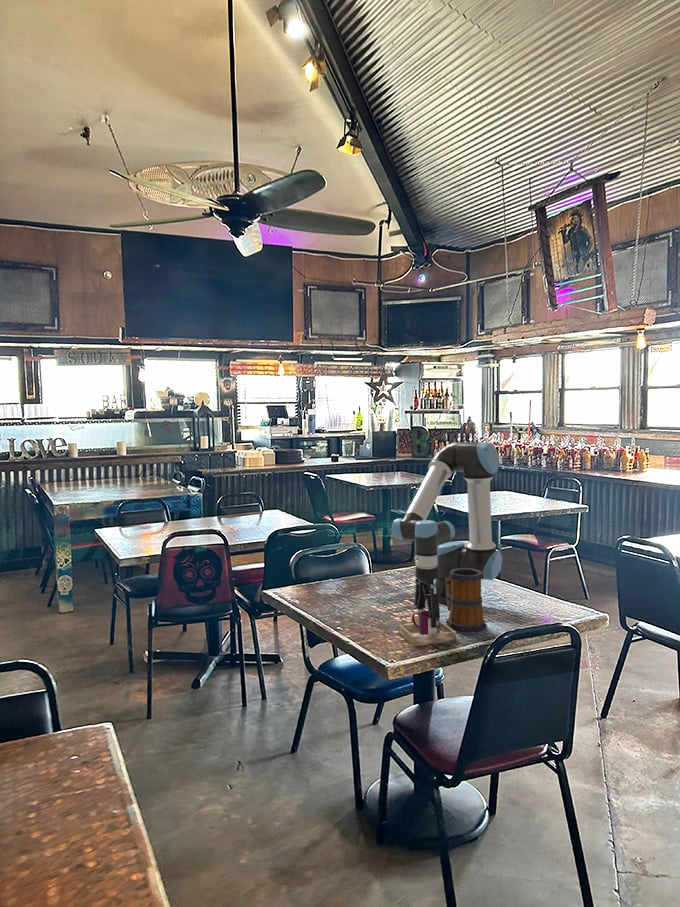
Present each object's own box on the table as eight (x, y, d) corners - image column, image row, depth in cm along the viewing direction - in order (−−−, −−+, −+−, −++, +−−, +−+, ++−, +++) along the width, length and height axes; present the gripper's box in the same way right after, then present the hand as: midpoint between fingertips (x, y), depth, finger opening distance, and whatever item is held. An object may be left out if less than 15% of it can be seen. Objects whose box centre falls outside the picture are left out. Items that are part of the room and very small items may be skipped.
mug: (430, 620, 234) (430, 566, 233) (463, 614, 240) (463, 562, 238) (460, 636, 216) (460, 579, 215) (495, 630, 222) (495, 574, 221)
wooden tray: (439, 628, 225) (439, 620, 224) (456, 640, 213) (456, 631, 212) (398, 633, 220) (398, 625, 220) (413, 646, 208) (412, 637, 208)
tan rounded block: (424, 620, 234) (424, 611, 233) (431, 626, 228) (431, 616, 227) (408, 622, 232) (407, 612, 232) (414, 628, 226) (414, 618, 225)
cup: (432, 638, 211) (432, 618, 211) (408, 631, 218) (407, 611, 218) (443, 633, 216) (443, 613, 216) (419, 626, 223) (419, 607, 222)
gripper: (404, 560, 224) (405, 623, 225) (429, 575, 204) (429, 644, 205) (423, 558, 226) (424, 621, 227) (450, 572, 206) (450, 641, 207)
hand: (426, 631), depth 216 cm, fingers closed on cup, 8 cm apart
